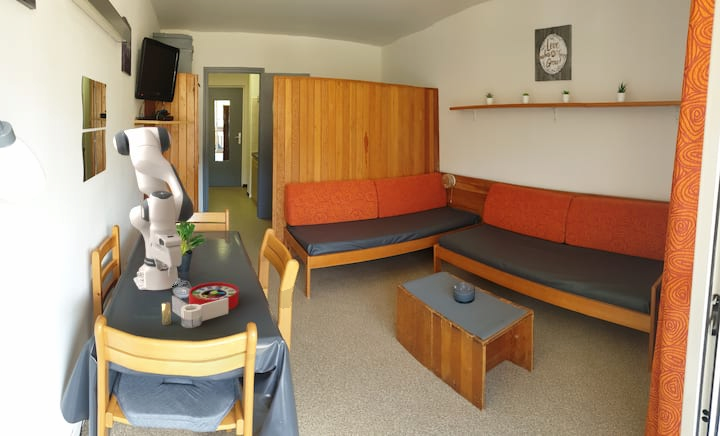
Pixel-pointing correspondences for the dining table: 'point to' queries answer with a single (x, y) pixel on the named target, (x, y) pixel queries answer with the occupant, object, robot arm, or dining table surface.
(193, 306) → the hinge leaf
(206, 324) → the dining table surface
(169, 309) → the hinge pin
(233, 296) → the toy clock
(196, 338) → the dining table surface
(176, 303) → the hinge leaf
